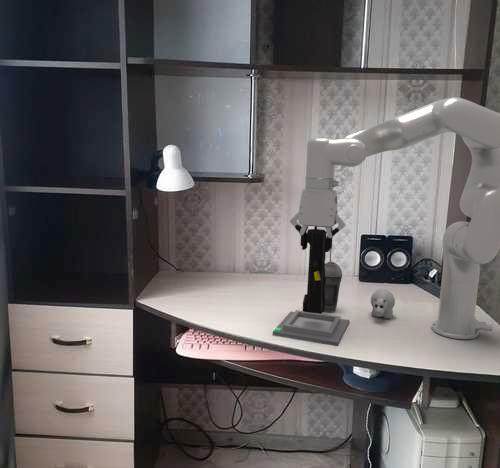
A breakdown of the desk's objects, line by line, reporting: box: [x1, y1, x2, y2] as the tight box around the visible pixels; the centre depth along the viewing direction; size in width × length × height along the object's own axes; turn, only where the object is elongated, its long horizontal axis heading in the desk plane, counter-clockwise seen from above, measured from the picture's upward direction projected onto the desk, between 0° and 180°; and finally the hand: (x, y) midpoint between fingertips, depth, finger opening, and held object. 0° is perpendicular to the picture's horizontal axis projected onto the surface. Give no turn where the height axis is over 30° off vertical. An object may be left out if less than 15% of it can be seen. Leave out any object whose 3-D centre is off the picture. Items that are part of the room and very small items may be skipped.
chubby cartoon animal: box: [370, 288, 396, 320], centre depth 150 cm, size 7×12×8 cm, turn 154°
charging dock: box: [272, 309, 350, 347], centre depth 140 cm, size 18×18×2 cm
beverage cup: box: [323, 249, 343, 314], centre depth 155 cm, size 7×7×20 cm
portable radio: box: [302, 226, 327, 314], centre depth 137 cm, size 8×6×25 cm
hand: (315, 249), depth 136 cm, fingers closed on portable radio, 5 cm apart
